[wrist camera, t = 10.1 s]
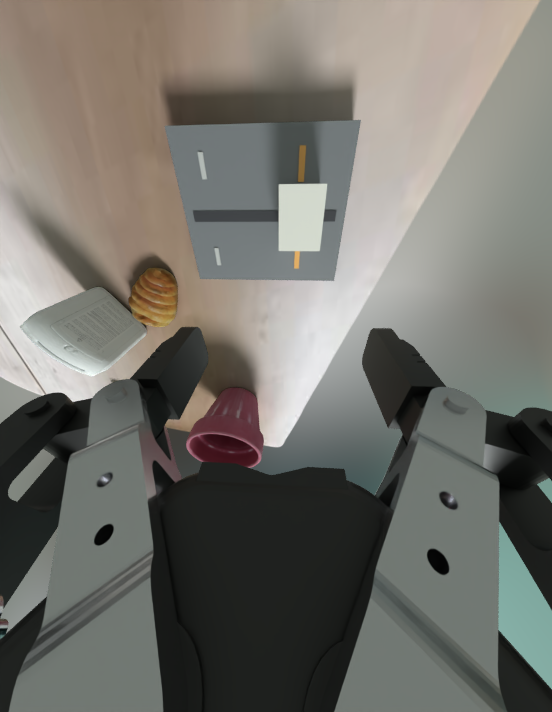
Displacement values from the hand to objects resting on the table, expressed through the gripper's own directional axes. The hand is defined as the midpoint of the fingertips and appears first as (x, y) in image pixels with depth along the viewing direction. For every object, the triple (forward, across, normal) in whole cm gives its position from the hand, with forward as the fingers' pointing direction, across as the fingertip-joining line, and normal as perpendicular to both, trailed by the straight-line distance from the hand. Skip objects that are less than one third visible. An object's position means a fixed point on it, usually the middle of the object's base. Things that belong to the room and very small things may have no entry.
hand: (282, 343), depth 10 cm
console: (+22, +3, -4) cm, 23 cm away
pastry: (+23, +21, +6) cm, 32 cm away
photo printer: (+23, +29, +9) cm, 38 cm away
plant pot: (+22, +12, +32) cm, 41 cm away
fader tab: (+19, -1, -4) cm, 19 cm away
